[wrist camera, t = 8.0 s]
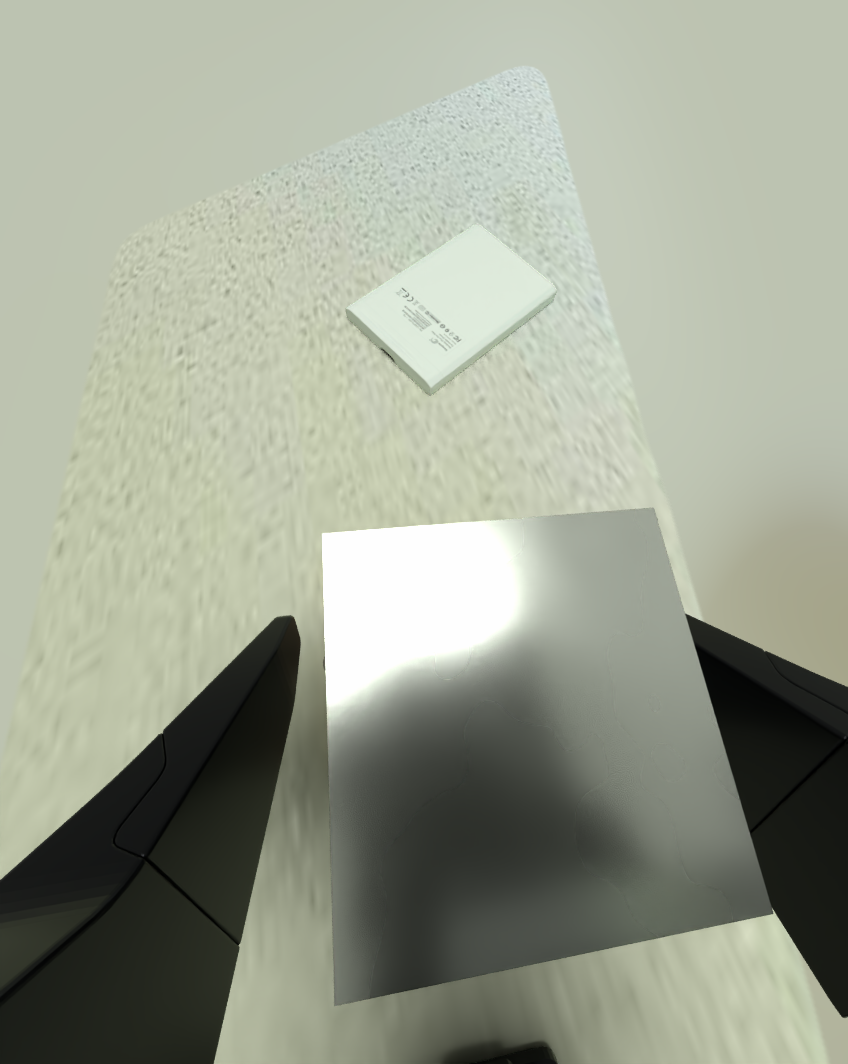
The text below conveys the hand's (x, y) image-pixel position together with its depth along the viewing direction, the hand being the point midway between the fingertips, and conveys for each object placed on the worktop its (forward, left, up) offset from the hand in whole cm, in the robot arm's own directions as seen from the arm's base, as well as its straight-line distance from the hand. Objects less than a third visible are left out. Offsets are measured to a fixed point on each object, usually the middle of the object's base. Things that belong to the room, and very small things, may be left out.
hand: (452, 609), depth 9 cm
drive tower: (-1, 0, -8) cm, 8 cm away
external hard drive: (+21, -4, -10) cm, 23 cm away
